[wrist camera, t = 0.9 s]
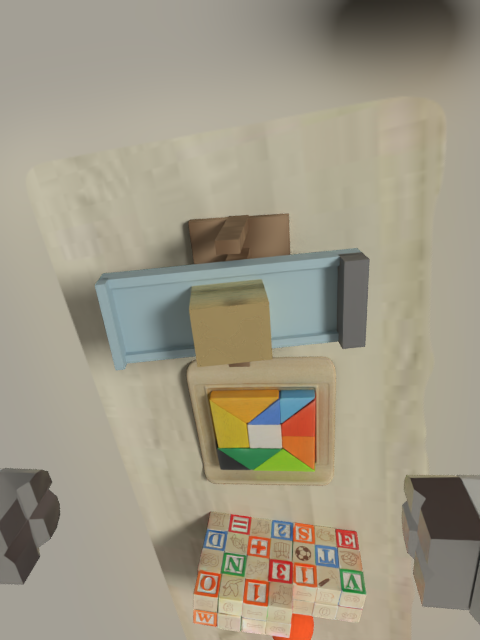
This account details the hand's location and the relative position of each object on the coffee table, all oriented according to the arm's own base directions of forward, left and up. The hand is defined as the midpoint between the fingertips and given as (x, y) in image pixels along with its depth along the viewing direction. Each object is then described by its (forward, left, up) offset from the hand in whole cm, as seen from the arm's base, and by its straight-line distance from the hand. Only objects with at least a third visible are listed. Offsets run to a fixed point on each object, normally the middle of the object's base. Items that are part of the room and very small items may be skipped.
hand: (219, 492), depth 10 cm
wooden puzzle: (+28, -3, -37) cm, 46 cm away
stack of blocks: (+49, -2, -37) cm, 61 cm away
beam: (+8, -4, -28) cm, 29 cm away
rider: (+8, -4, -27) cm, 28 cm away
